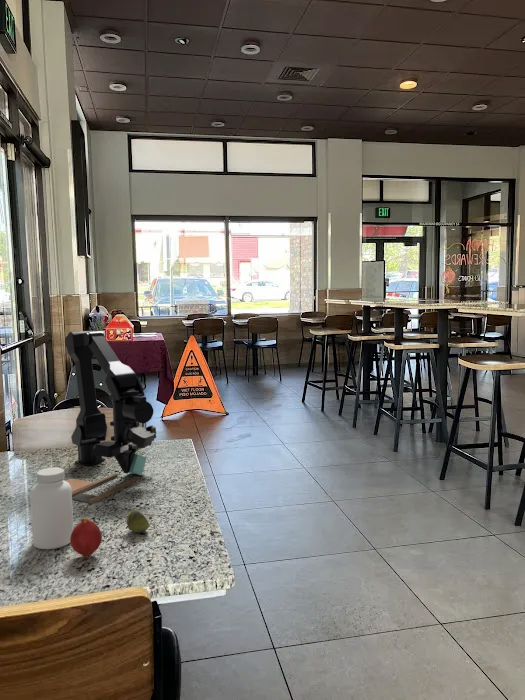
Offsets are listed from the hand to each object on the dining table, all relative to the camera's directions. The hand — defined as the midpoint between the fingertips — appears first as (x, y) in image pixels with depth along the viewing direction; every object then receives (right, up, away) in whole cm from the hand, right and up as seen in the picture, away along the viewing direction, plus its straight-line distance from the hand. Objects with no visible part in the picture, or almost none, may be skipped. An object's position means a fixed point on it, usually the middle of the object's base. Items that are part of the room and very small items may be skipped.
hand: (126, 473), depth 153 cm
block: (+1, 0, +2) cm, 2 cm away
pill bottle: (-6, -6, -38) cm, 39 cm away
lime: (+11, -5, -34) cm, 36 cm away
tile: (-13, -2, -7) cm, 15 cm away
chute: (-4, -2, -8) cm, 9 cm away
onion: (+3, -7, -45) cm, 45 cm away
